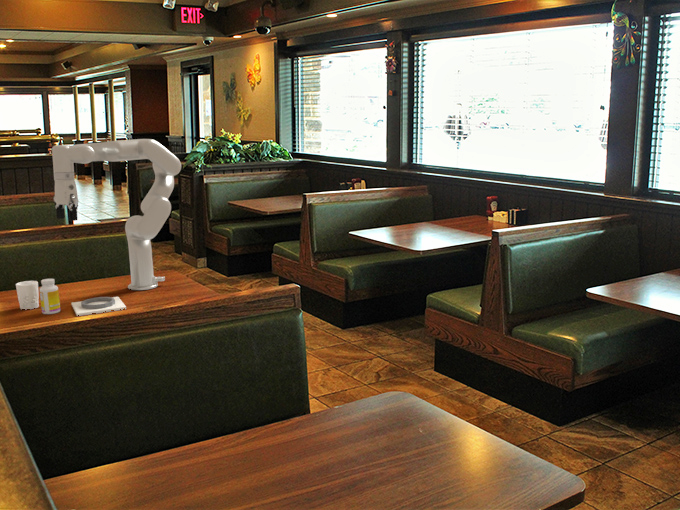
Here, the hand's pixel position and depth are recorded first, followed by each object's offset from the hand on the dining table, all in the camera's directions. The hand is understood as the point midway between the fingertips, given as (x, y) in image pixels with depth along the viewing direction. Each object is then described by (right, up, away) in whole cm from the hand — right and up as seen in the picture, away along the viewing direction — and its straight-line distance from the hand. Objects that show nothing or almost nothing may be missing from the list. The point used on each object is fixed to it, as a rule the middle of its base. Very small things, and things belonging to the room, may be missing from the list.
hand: (67, 219), depth 267 cm
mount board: (+15, -35, -6) cm, 38 cm away
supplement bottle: (-1, -37, -12) cm, 39 cm away
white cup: (-13, -35, -5) cm, 38 cm away
